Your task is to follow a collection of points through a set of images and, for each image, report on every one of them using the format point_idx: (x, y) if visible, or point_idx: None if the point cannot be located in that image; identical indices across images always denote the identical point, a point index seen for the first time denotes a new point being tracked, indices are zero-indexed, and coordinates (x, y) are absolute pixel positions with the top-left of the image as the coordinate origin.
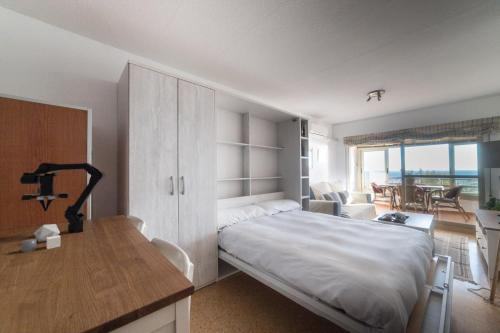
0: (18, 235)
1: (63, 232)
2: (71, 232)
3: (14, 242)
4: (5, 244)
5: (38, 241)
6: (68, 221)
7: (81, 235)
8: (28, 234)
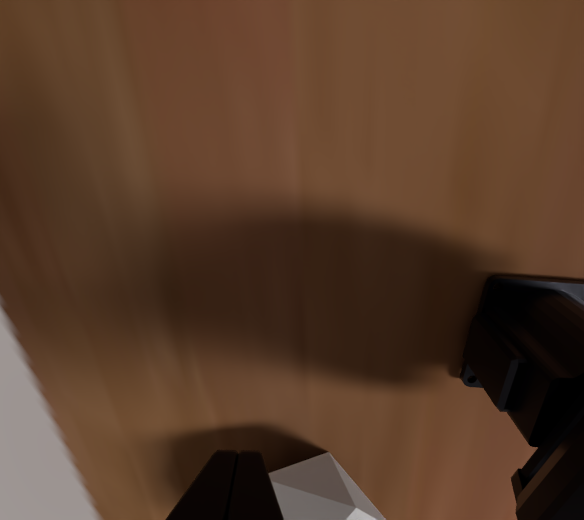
0: (17, 94)
1: (427, 290)
2: (481, 385)
3: (97, 395)
4: (55, 414)
5: None
6: (517, 493)
7: None
8: (112, 120)
